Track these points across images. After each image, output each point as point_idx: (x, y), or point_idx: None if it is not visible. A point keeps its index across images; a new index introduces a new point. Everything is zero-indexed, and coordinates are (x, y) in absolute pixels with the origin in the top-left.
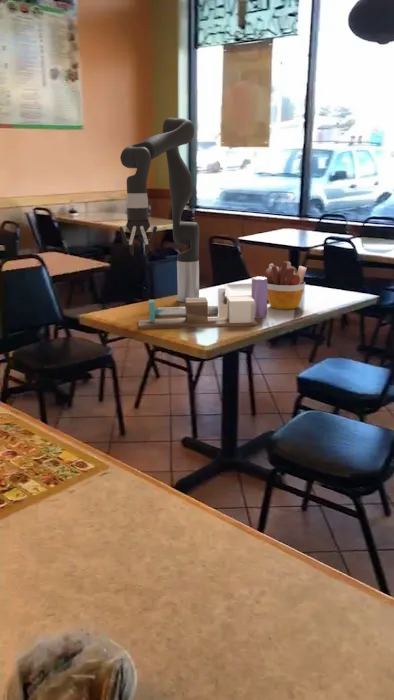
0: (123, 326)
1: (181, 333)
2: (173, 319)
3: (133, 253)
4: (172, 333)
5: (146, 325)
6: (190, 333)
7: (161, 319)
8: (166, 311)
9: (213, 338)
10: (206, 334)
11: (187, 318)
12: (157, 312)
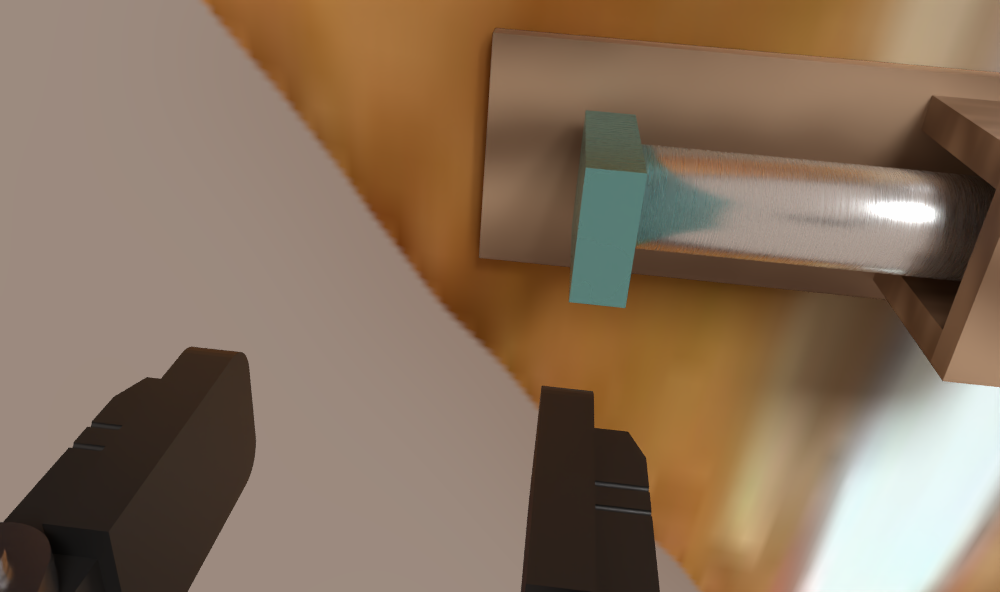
0: (365, 148)
1: (765, 421)
2: (812, 95)
3: (234, 358)
4: (705, 408)
5: (543, 251)
6: (826, 433)
7: (702, 71)
8: (734, 257)
9: (925, 557)
10: (922, 475)
11: (892, 303)
12: (648, 249)
